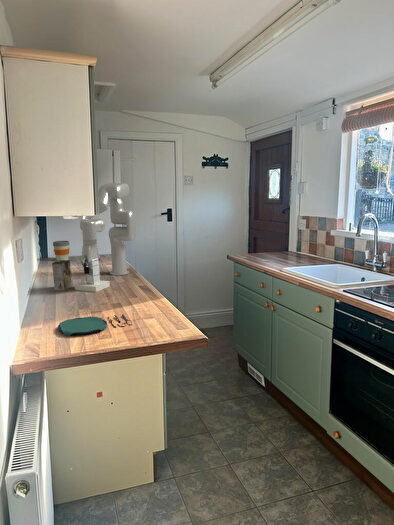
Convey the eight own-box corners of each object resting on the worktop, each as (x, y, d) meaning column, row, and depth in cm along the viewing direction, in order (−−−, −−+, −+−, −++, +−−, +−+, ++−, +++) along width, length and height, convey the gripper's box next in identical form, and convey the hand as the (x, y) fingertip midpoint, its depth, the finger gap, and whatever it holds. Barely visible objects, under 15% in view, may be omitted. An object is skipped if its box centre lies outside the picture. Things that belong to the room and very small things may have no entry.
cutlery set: (55, 324, 178) (54, 319, 177) (123, 316, 190) (123, 311, 190) (61, 340, 160) (60, 335, 160) (136, 329, 173) (136, 324, 172)
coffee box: (62, 286, 245) (60, 259, 242) (72, 286, 244) (70, 260, 241) (54, 290, 236) (51, 262, 233) (64, 290, 235) (62, 263, 232)
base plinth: (89, 284, 249) (89, 279, 248) (109, 286, 244) (109, 281, 244) (75, 290, 236) (74, 284, 235) (96, 291, 231) (95, 286, 231)
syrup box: (100, 282, 241) (99, 257, 238) (93, 284, 235) (92, 259, 233) (92, 281, 243) (91, 257, 240) (85, 283, 238) (84, 259, 235)
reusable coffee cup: (53, 262, 325) (51, 243, 322) (55, 259, 337) (53, 241, 334) (69, 261, 327) (68, 242, 324) (71, 258, 339) (69, 240, 336)
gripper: (93, 240, 244) (94, 268, 248) (74, 244, 228) (77, 274, 232) (103, 240, 242) (105, 269, 245) (86, 245, 226) (88, 275, 229)
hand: (91, 271), depth 238 cm, fingers open, 9 cm apart
